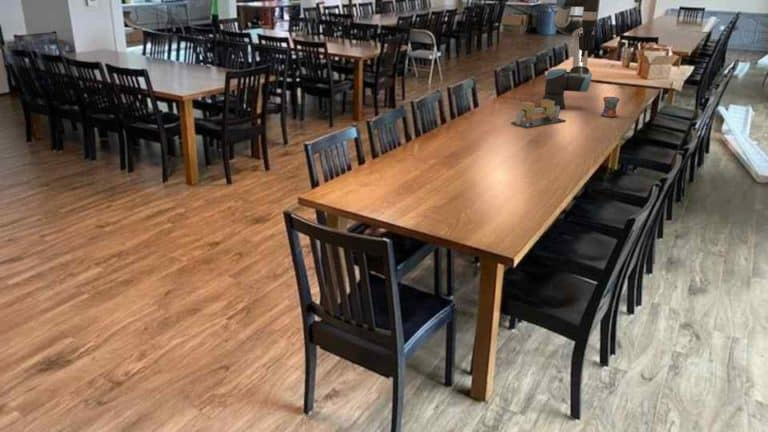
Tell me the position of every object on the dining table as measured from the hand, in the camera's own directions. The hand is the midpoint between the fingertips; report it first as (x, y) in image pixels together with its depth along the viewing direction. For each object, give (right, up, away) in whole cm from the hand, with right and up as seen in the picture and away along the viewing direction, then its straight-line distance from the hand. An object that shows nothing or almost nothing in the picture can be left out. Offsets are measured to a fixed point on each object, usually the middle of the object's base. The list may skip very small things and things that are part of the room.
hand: (583, 62), depth 350 cm
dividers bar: (-28, -35, -9) cm, 46 cm away
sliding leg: (-23, -34, -6) cm, 41 cm away
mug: (+19, -29, +10) cm, 36 cm away
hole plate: (-28, -36, -9) cm, 47 cm away
